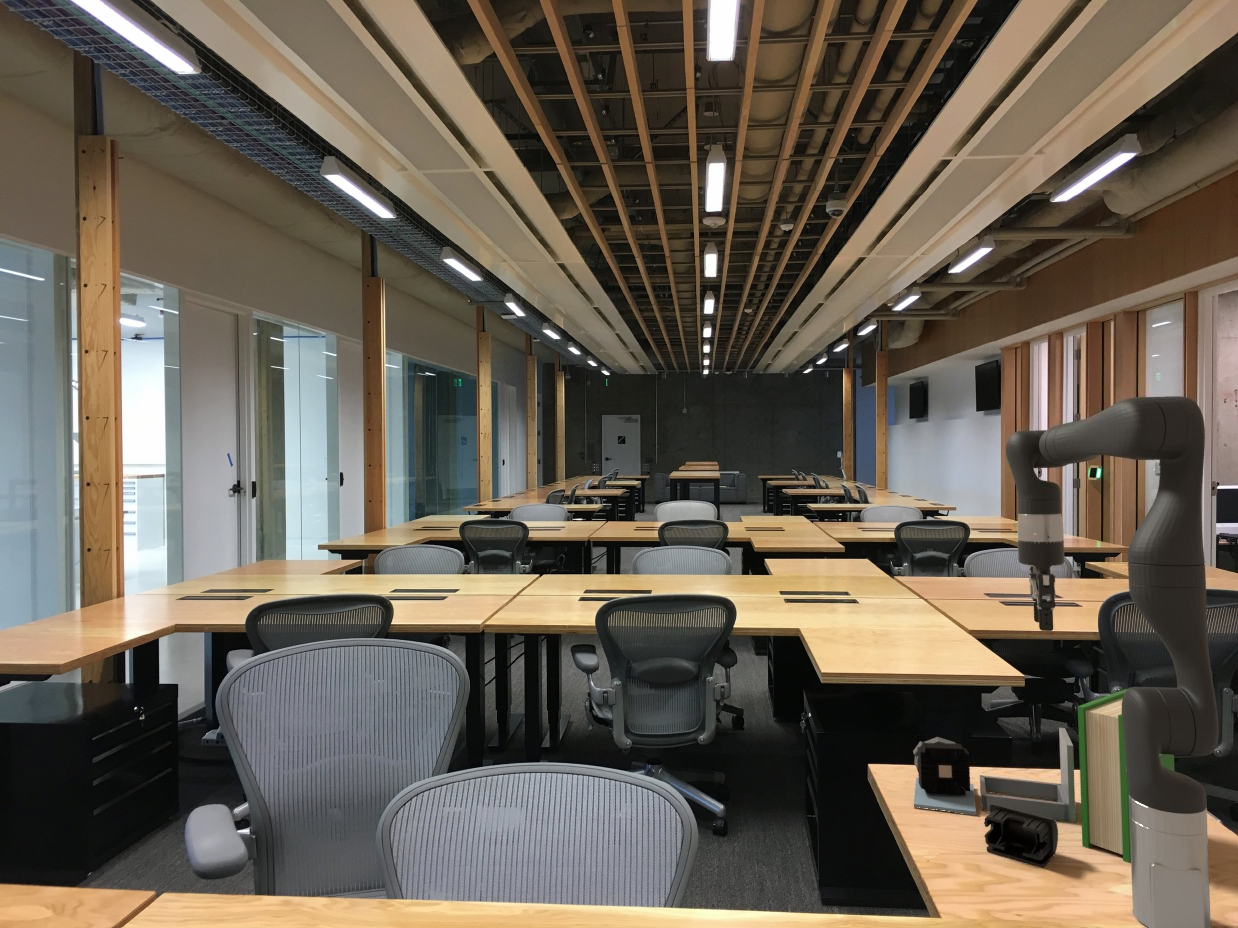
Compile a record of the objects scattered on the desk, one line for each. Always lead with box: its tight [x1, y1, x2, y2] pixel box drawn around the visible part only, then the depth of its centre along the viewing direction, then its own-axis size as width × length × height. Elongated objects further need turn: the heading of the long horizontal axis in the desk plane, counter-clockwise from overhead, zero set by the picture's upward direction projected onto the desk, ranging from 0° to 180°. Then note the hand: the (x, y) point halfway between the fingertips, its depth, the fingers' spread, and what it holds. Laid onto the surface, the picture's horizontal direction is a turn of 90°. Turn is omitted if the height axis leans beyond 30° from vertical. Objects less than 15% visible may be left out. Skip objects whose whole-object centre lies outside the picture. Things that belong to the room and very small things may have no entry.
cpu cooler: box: [912, 736, 971, 796], centre depth 160 cm, size 10×6×10 cm, turn 80°
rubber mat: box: [913, 777, 977, 816], centre depth 159 cm, size 14×11×1 cm
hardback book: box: [1077, 688, 1176, 864], centre depth 139 cm, size 18×7×24 cm, turn 124°
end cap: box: [983, 804, 1059, 869], centre depth 136 cm, size 10×7×7 cm
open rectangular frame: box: [979, 727, 1077, 823], centre depth 154 cm, size 11×16×14 cm
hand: (1043, 626), depth 147 cm, fingers open, 8 cm apart
